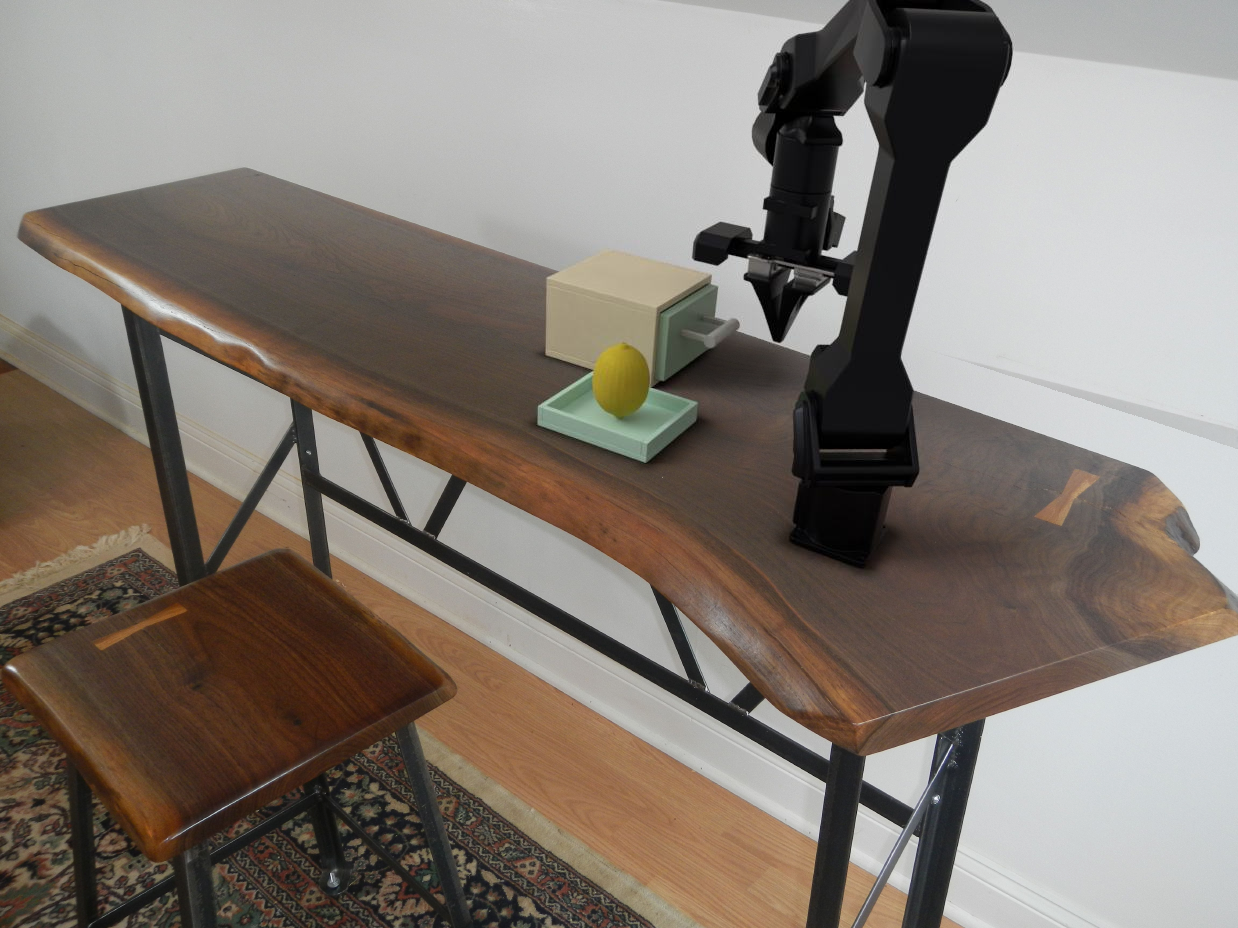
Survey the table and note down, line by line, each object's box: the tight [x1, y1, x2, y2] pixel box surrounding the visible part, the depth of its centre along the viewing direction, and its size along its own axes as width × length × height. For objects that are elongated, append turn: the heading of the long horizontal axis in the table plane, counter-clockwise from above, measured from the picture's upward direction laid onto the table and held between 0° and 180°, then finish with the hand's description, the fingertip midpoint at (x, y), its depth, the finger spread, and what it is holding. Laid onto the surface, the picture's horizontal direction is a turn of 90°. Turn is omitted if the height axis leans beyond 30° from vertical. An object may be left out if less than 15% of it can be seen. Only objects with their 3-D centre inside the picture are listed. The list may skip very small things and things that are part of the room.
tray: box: [537, 370, 699, 464], centre depth 94 cm, size 12×10×2 cm
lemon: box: [592, 342, 650, 419], centre depth 92 cm, size 6×6×8 cm
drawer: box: [655, 283, 741, 382], centre depth 105 cm, size 17×11×7 cm
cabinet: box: [545, 248, 713, 388], centre depth 106 cm, size 14×13×9 cm
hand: (778, 341), depth 97 cm, fingers closed
